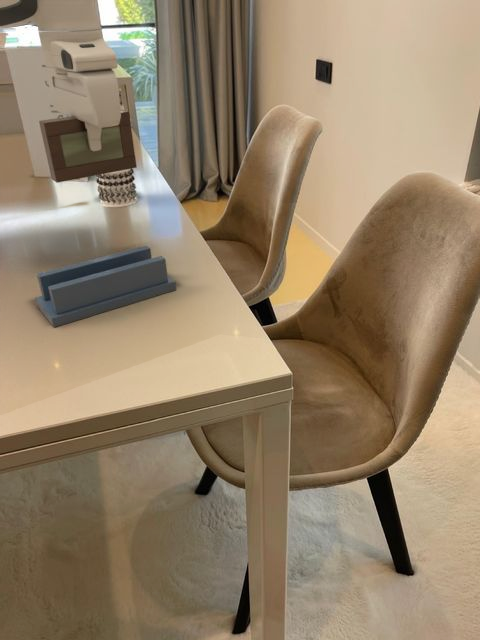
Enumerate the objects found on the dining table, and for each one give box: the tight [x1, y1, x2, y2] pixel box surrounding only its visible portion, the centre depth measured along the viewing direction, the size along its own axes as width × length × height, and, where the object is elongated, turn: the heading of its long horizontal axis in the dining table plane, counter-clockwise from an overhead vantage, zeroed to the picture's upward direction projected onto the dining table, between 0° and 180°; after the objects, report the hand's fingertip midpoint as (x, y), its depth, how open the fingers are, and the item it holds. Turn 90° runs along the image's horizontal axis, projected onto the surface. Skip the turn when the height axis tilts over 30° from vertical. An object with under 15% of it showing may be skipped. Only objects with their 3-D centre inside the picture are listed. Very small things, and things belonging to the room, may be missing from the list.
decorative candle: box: [94, 87, 138, 208], centre depth 122 cm, size 9×9×25 cm
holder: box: [34, 245, 177, 328], centre depth 87 cm, size 8×20×6 cm, turn 126°
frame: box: [39, 109, 138, 183], centre depth 91 cm, size 2×14×9 cm, turn 127°
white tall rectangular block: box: [4, 45, 89, 182], centre depth 137 cm, size 14×6×30 cm, turn 82°
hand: (90, 148), depth 91 cm, fingers closed on frame, 2 cm apart
